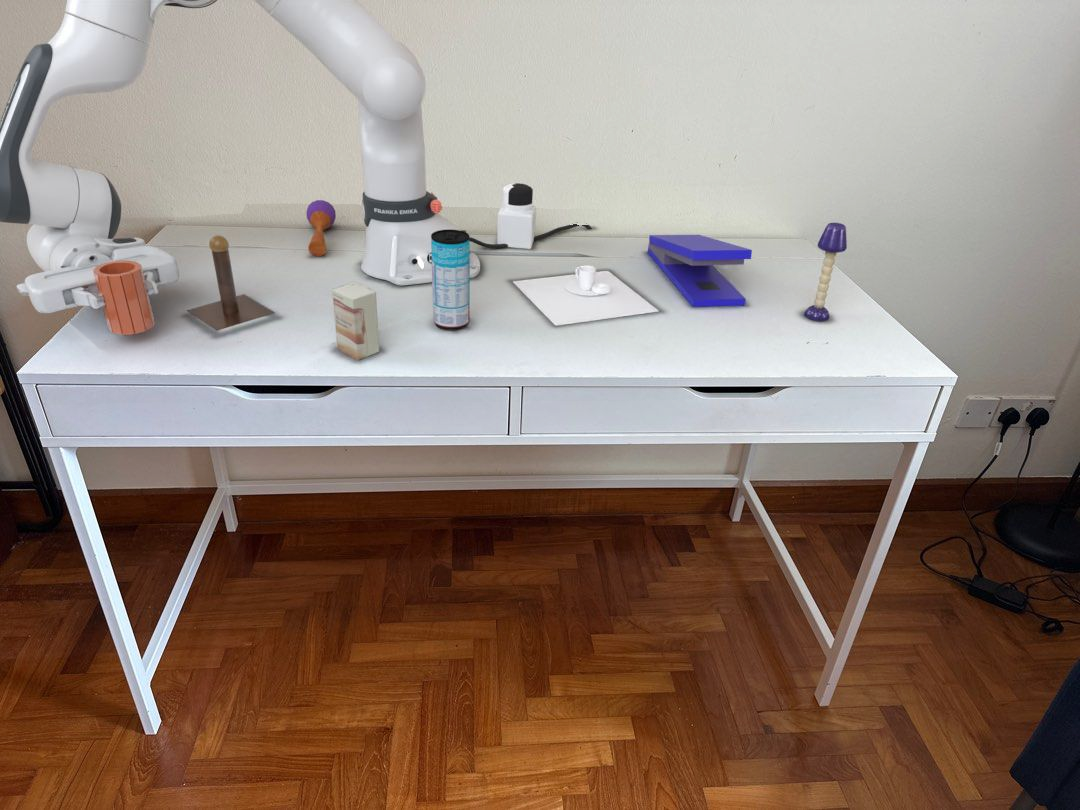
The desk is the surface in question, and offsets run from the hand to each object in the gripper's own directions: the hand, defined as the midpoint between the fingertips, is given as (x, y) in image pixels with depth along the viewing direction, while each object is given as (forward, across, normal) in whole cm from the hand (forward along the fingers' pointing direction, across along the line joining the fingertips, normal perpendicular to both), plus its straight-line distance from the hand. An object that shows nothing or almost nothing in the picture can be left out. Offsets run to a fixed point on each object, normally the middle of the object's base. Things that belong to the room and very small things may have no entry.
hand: (127, 296), depth 108 cm
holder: (-1, +15, +8) cm, 17 cm away
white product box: (+22, +23, +8) cm, 33 cm away
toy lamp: (+64, +90, +8) cm, 111 cm away
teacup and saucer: (+31, +66, +8) cm, 73 cm away
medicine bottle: (+4, +76, +8) cm, 77 cm away
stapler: (+39, +89, +8) cm, 98 cm away
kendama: (-23, +46, +8) cm, 53 cm away
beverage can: (+24, +40, +8) cm, 48 cm away
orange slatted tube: (-1, 0, +5) cm, 5 cm away
